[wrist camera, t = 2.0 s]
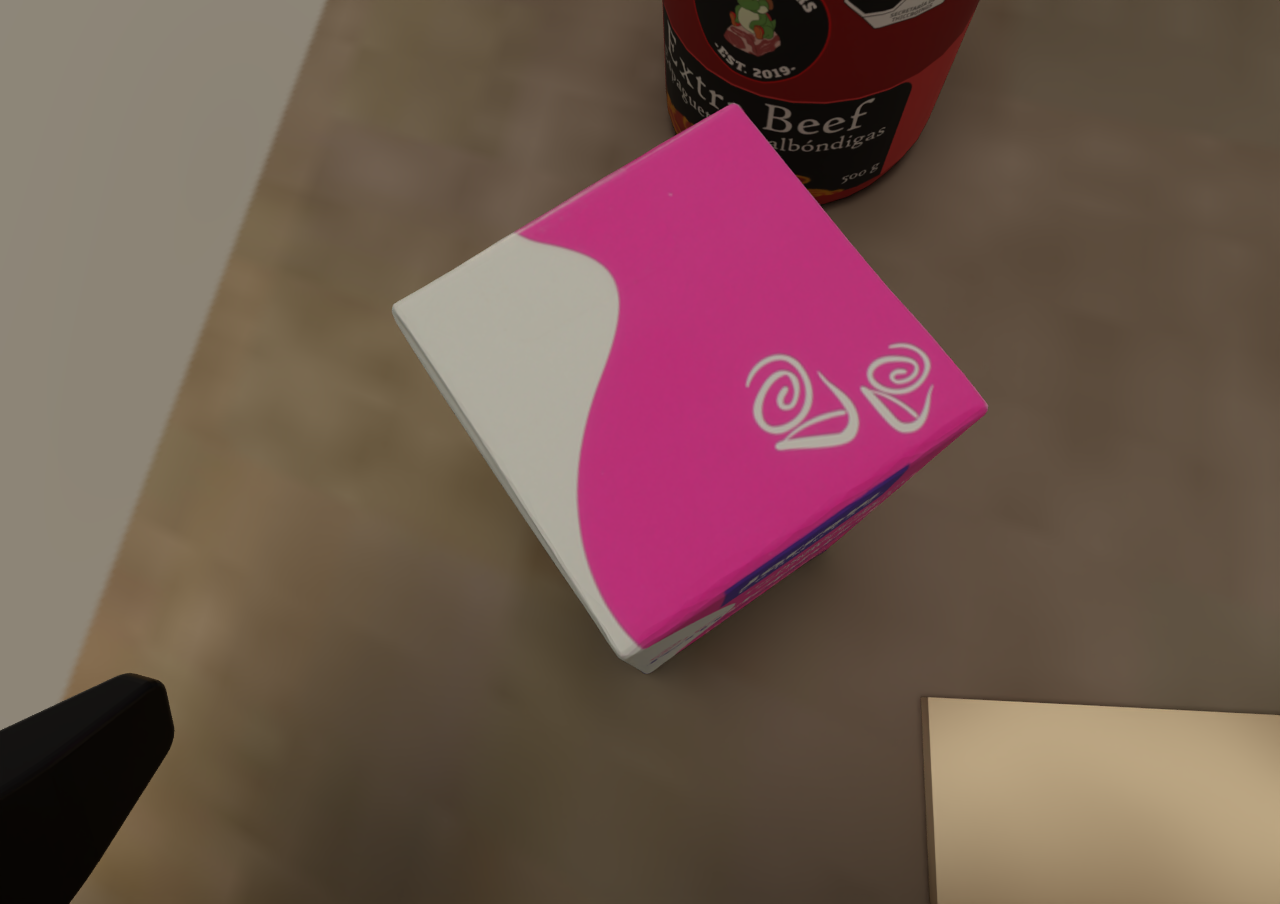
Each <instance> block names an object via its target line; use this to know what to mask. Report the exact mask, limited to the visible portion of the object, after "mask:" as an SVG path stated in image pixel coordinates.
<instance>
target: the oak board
mask: <svg viewBox="0 0 1280 904" xmlns="http://www.w3.org/2000/svg"><path fill="white" fill-rule="evenodd" d="M921 712H922V735H923V757H924V780H925V803H926V826H927V849H928V872H929V894H930V904H1280V715H1265V714H1245V713H1226V712H1206V711H1186V710H1167V709H1147V708H1128V707H1108V706H1089V705H1069V704H1049V703H1030V702H1010V701H991V700H971V699H952V698H932V697H921Z"/></svg>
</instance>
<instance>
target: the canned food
mask: <svg viewBox="0 0 1280 904" xmlns="http://www.w3.org/2000/svg"><path fill="white" fill-rule="evenodd" d="M662 2H663V27H664V52H665V76H666V94H667V105H668V111H669V114H670V117H671V120H672V123H673V126H674V129H675V132H676V134H679V133H681V132H682V131H684V130H686V129H688V128H689V127H691V126H693V125H695V124H696V123H698V122H700V121H702V120H703V119H705V118H707V117H709V116H710V115H712V114H714V113H716V112H717V111H719V110H721V109H723V108H724V107H726V106H728V105H730V104H732V103H735V104H737V105H739V106H740V107H741V108H742V109H743V111H744V112H745V114H746V115H747V116H748V118H749V119H750V120H751V121H752V122H753V124H754V125H755V126H756V127H757V128H758V130H759V131H760V132H761V133H762V135H763V136H764V137H765V138H766V139H767V141H768V142H769V143H770V144H771V146H772V147H773V148H774V149H775V151H776V152H777V153H778V154H779V156H780V157H781V158H782V159H783V161H784V162H785V163H786V164H787V166H788V167H789V168H790V169H791V171H792V172H793V173H794V174H795V175H796V177H797V178H798V179H799V180H800V182H801V183H802V184H803V185H804V186H805V188H806V189H807V190H808V191H809V192H810V194H811V195H812V196H813V197H814V198H815V200H816V201H817V202H818V203H819V204H825V203H828V202H832V201H835V200H838V199H841V198H844V197H848V196H850V195H852V194H854V193H856V192H857V191H859V190H861V189H863V188H865V187H867V186H869V185H871V184H872V183H873V182H874V181H876V180H877V179H878V178H880V177H881V176H882V175H883V174H885V173H886V172H887V171H888V170H889V169H891V168H892V167H893V166H894V165H895V164H896V163H897V162H898V161H899V160H900V159H901V158H902V157H903V156H904V154H905V153H906V152H907V151H908V150H909V149H910V147H911V146H912V145H913V144H914V143H915V142H916V140H917V139H918V137H919V136H920V134H921V132H922V130H923V128H924V126H925V125H926V123H927V121H928V119H929V117H930V114H931V112H932V110H933V107H934V105H935V103H936V100H937V98H938V96H939V93H940V91H941V89H942V86H943V84H944V82H945V79H946V77H947V75H948V72H949V70H950V68H951V65H952V63H953V61H954V58H955V56H956V54H957V51H958V49H959V47H960V44H961V42H962V40H963V37H964V35H965V33H966V30H967V28H968V26H969V23H970V21H971V19H972V16H973V14H974V12H975V9H976V7H977V5H978V2H979V0H662Z"/></svg>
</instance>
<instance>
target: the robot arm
mask: <svg viewBox="0 0 1280 904" xmlns="http://www.w3.org/2000/svg"><path fill="white" fill-rule="evenodd" d="M173 738H174V724H173V720H172V715H171V710H170V706H169V701H168V696H167V692H166V688H165V686H164V684H162V683H161V682H160V681H159V680H156V679H152V678H149V677H145V676H141V675H138V674H132V673H126V674H122V675H119V676H116V677H114V678H112V679H110V680H107V681H105V682H103V683H101V684H99V685H97V686H95V687H92V688H90V689H88V690H86V691H84V692H82V693H80V694H77V695H75V696H73V697H71V698H69V699H67V700H64V701H62V702H60V703H58V704H56V705H54V706H52V707H50V708H48V709H45V710H43V711H41V712H39V713H37V714H34V715H32V716H30V717H28V718H26V719H24V720H22V721H20V722H17V723H15V724H13V725H11V726H9V727H7V728H4V729H2V730H0V904H69V903H70V902H71V900H72V899H73V898H74V896H75V895H76V894H77V892H78V891H79V889H80V888H81V887H82V885H83V884H84V883H85V881H86V880H87V878H88V877H89V876H90V874H91V873H92V871H93V870H94V868H95V867H96V865H97V864H98V862H99V861H100V859H101V858H102V856H103V854H104V853H105V851H106V850H107V848H108V846H109V845H110V843H111V842H112V840H113V839H114V837H115V835H116V834H117V832H118V831H119V829H120V828H121V826H122V824H123V823H124V821H125V820H126V818H127V816H128V815H129V813H130V812H131V810H132V809H133V807H134V805H135V804H136V802H137V801H138V799H139V797H140V796H141V794H142V793H143V791H144V790H145V788H146V786H147V785H148V783H149V782H150V780H151V778H152V777H153V775H154V774H155V772H156V771H157V769H158V767H159V766H160V764H161V763H162V761H163V760H164V758H165V756H166V755H167V753H168V751H169V749H170V747H171V745H172V742H173Z"/></svg>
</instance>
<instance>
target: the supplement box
mask: <svg viewBox="0 0 1280 904" xmlns="http://www.w3.org/2000/svg"><path fill="white" fill-rule="evenodd" d="M392 313H393V316H394V318H395V321H396V323H397V324H398V326H399V328H400V329H401V331H402V333H403V334H404V336H405V338H406V339H407V341H408V343H409V344H410V346H411V347H412V349H413V350H414V352H415V354H416V355H417V357H418V358H419V360H420V361H421V363H422V365H423V366H424V368H425V369H426V371H427V373H428V374H429V376H430V377H431V379H432V380H433V382H434V383H435V385H436V386H437V388H438V389H439V391H440V392H441V394H442V395H443V397H444V398H445V400H446V401H447V403H448V404H449V406H450V408H451V409H452V411H453V412H454V414H455V415H456V417H457V418H458V420H459V421H460V423H461V424H462V426H463V427H464V429H465V430H466V432H467V433H468V435H469V436H470V438H471V439H472V441H473V442H474V444H475V445H476V447H477V448H478V450H479V451H480V453H481V454H482V456H483V457H484V459H485V460H486V462H487V463H488V465H489V466H490V468H491V470H492V471H493V473H494V474H495V476H496V477H497V479H498V480H499V482H500V483H501V485H502V486H503V488H504V489H505V491H506V492H507V494H508V495H509V497H510V498H511V499H512V501H513V502H514V504H515V505H516V507H517V508H518V510H519V511H520V513H521V514H522V516H523V517H524V519H525V520H526V522H527V523H528V525H529V526H530V528H531V529H532V531H533V532H534V534H535V535H536V537H537V538H538V540H539V541H540V543H541V544H542V546H543V547H544V549H545V550H546V552H547V553H548V554H549V556H550V557H551V559H552V560H553V562H554V563H555V565H556V566H557V568H558V569H559V571H560V572H561V574H562V575H563V576H564V578H565V579H566V581H567V582H568V584H569V585H570V587H571V588H572V590H573V591H574V593H575V594H576V595H577V597H578V598H579V600H580V601H581V603H582V604H583V606H584V607H585V609H586V610H587V612H588V613H589V615H590V616H591V618H592V619H593V621H594V622H595V624H596V625H597V627H598V628H599V630H600V632H601V633H602V635H603V636H604V638H605V639H606V641H607V642H608V644H609V645H610V647H611V648H612V650H613V651H614V652H615V654H616V655H617V657H618V658H620V659H621V660H623V661H625V662H627V663H628V664H630V665H632V666H634V667H635V668H637V669H638V670H641V672H643V673H644V674H649V673H651V672H653V671H654V670H655V669H657V668H658V667H659V666H661V665H662V664H663V663H665V662H666V661H667V660H669V659H670V658H672V657H673V656H674V655H676V654H677V653H679V652H680V651H682V650H683V649H684V648H686V647H687V646H689V645H690V644H692V643H693V642H694V641H696V640H697V639H699V638H700V637H702V636H703V635H704V634H706V633H707V632H709V631H710V630H712V629H713V628H714V627H716V626H717V625H719V624H720V623H722V622H723V621H724V620H726V619H727V618H729V617H730V616H732V615H733V614H734V613H736V612H737V611H739V610H740V609H742V608H743V607H744V606H746V605H747V604H749V603H750V602H751V601H753V600H754V599H756V598H757V597H758V596H760V595H761V594H763V593H764V592H765V591H767V590H768V589H770V588H771V587H772V586H774V585H775V584H777V583H778V582H779V581H781V580H782V579H784V578H785V577H787V576H788V575H789V574H791V573H792V572H794V571H795V570H796V569H798V568H799V567H801V566H802V565H804V564H805V563H807V562H808V561H810V560H812V559H813V558H815V557H816V556H818V555H819V554H821V553H823V552H824V551H826V550H827V549H828V548H829V547H830V546H831V545H832V544H834V543H835V542H836V541H837V540H838V539H840V538H841V537H842V536H843V535H845V534H846V533H847V532H848V531H849V530H850V529H851V528H853V527H854V526H855V525H856V524H857V523H858V522H860V521H861V520H862V519H863V518H864V517H865V516H867V515H868V514H869V513H870V512H871V511H872V510H874V509H875V508H876V507H877V506H878V505H879V504H880V503H882V502H883V501H884V500H885V499H886V498H888V497H889V496H890V495H891V494H892V493H893V492H895V491H896V490H897V489H898V488H899V487H901V486H902V485H903V484H904V483H905V482H906V481H907V480H909V479H910V478H911V477H912V476H913V475H914V474H915V473H916V472H918V471H919V470H920V469H921V468H922V467H924V466H925V465H926V464H927V463H928V462H929V461H930V460H932V459H933V458H934V457H935V456H936V455H937V454H939V453H940V452H941V451H942V450H943V449H944V448H946V447H947V446H948V445H949V444H950V443H952V442H953V441H954V440H955V439H956V438H957V437H959V436H960V435H961V434H962V433H963V432H965V431H966V430H967V429H968V428H969V427H970V426H972V425H973V424H974V423H975V422H977V421H978V420H979V419H980V418H981V417H983V416H984V415H985V414H986V412H987V410H988V405H987V403H986V402H985V400H984V399H983V398H982V397H981V395H980V394H979V393H978V391H977V390H976V389H975V387H974V386H973V385H972V384H971V382H970V381H969V380H968V379H967V377H966V376H965V375H964V374H963V372H962V371H961V370H960V369H959V368H958V367H957V366H956V365H955V364H954V362H953V361H952V359H951V358H950V357H949V356H948V355H947V354H946V353H945V351H944V350H943V349H942V348H941V347H940V345H939V344H938V343H937V342H936V341H935V339H934V338H933V337H932V336H931V335H930V334H929V333H928V332H927V330H926V329H925V328H924V327H923V326H922V325H921V324H920V322H919V321H918V320H917V319H916V318H915V317H914V316H913V314H912V313H911V312H910V311H909V310H908V309H907V308H906V307H905V306H904V305H903V303H902V302H901V301H900V300H899V299H898V298H897V297H896V296H895V295H894V294H893V292H892V291H891V290H890V289H889V288H888V287H887V286H886V284H885V283H884V282H883V281H882V280H881V278H880V277H879V276H878V275H877V274H876V273H875V271H874V270H873V269H872V268H871V267H870V266H869V264H868V263H867V262H866V261H865V260H864V258H863V257H862V256H861V255H860V254H859V252H858V251H857V250H856V249H855V248H854V246H853V245H852V244H851V243H850V242H849V240H848V239H847V238H846V237H845V235H844V234H843V233H842V232H841V231H840V229H839V228H838V227H837V226H836V224H835V223H834V222H833V221H832V219H831V218H830V217H829V216H828V215H827V213H826V212H825V211H824V210H823V208H822V207H821V206H820V205H819V203H818V202H817V201H816V200H815V198H814V197H813V196H812V195H811V194H810V192H809V191H808V190H807V189H806V188H805V186H804V185H803V184H802V183H801V182H800V180H799V179H798V178H797V177H796V175H795V174H794V173H793V172H792V171H791V169H790V168H789V167H788V166H787V164H786V163H785V162H784V161H783V159H782V158H781V157H780V156H779V154H778V153H777V152H776V151H775V149H774V148H773V147H772V146H771V144H770V143H769V142H768V141H767V139H766V138H765V137H764V136H763V135H762V133H761V132H760V131H759V130H758V128H757V127H756V126H755V125H754V124H753V122H752V121H751V120H750V119H749V118H748V116H747V115H746V114H745V112H744V111H743V109H742V108H741V107H740V106H739V105H737V104H735V103H732V104H730V105H728V106H726V107H724V108H723V109H721V110H719V111H717V112H716V113H714V114H712V115H710V116H709V117H707V118H705V119H703V120H702V121H700V122H698V123H696V124H695V125H693V126H691V127H689V128H688V129H686V130H684V131H682V132H681V133H679V134H677V135H675V136H674V137H672V138H670V139H668V140H667V141H665V142H663V143H661V144H660V145H658V146H656V147H654V148H653V149H651V150H650V151H648V152H647V153H645V154H643V155H642V156H640V157H639V158H637V159H635V160H633V161H632V162H630V163H628V164H627V165H625V166H623V167H621V168H620V169H618V170H616V171H614V172H613V173H611V174H609V175H608V176H606V177H604V178H602V179H601V180H599V181H597V182H596V183H594V184H592V185H591V186H589V187H587V188H586V189H584V190H582V191H581V192H579V193H577V194H576V195H574V196H573V197H571V198H569V199H568V200H566V201H565V202H563V203H561V204H560V205H558V206H557V207H555V208H553V209H552V210H550V211H548V212H547V213H545V214H543V215H542V216H540V217H538V218H536V219H535V220H533V221H531V222H530V223H528V224H526V225H525V226H523V227H521V228H520V229H518V230H517V231H515V232H513V233H512V234H510V235H508V236H507V237H505V238H503V239H501V240H500V241H498V242H496V243H495V244H493V245H492V246H490V247H489V248H487V249H486V250H484V251H482V252H481V253H479V254H477V255H476V256H474V257H473V258H471V259H469V260H468V261H466V262H464V263H463V264H461V265H460V266H458V267H457V268H455V269H453V270H452V271H450V272H448V273H446V274H445V275H443V276H441V277H439V278H438V279H436V280H435V281H433V282H431V283H430V284H428V285H426V286H425V287H423V288H421V289H419V290H418V291H416V292H414V293H412V294H410V295H409V296H407V297H405V298H403V299H402V300H400V301H398V302H396V303H395V304H393V308H392Z"/></svg>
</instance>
